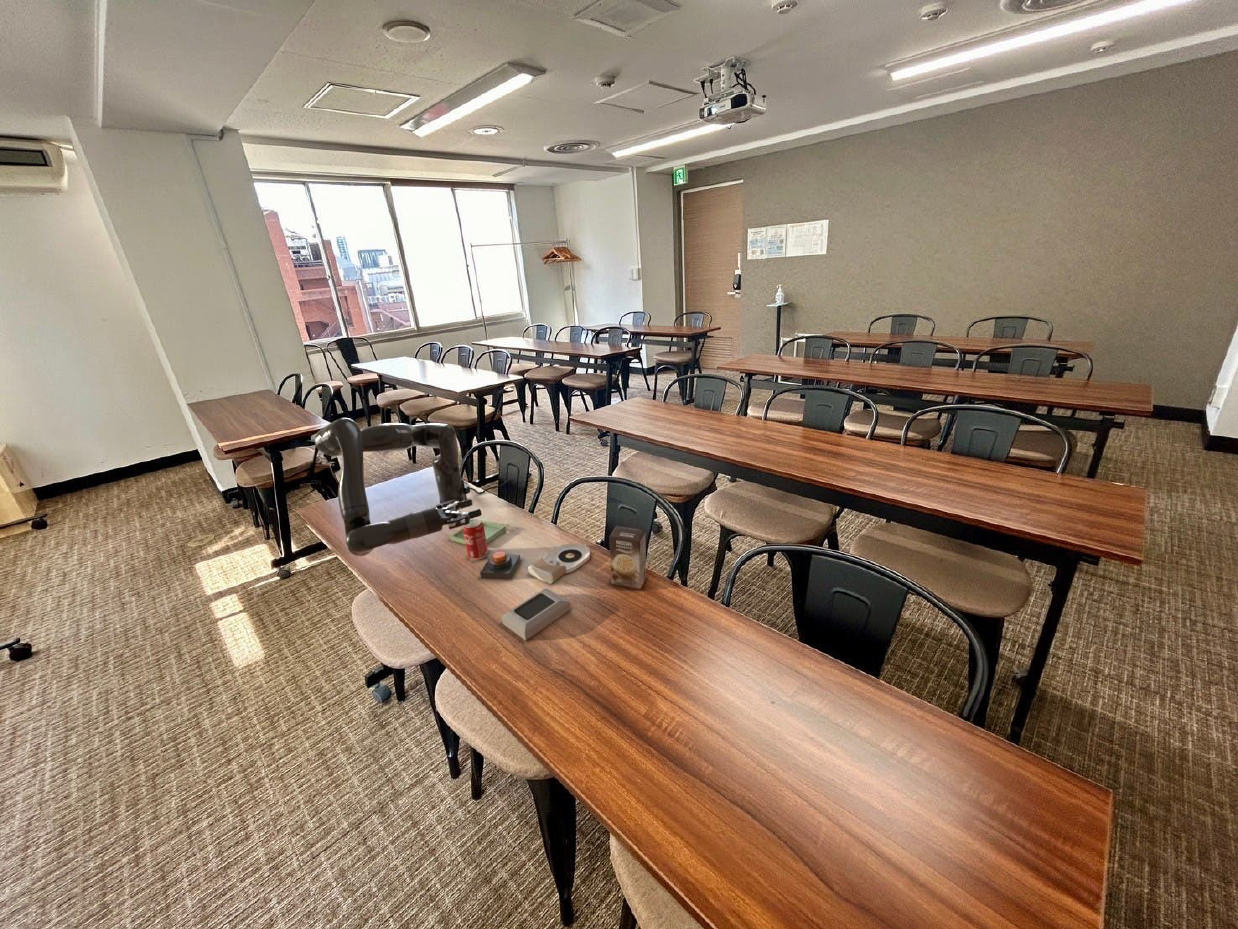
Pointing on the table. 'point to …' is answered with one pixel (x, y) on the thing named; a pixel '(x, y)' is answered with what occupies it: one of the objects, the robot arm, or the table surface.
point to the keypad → (535, 613)
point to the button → (499, 557)
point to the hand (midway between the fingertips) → (476, 506)
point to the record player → (560, 562)
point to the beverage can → (475, 539)
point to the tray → (489, 528)
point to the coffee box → (628, 556)
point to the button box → (500, 567)
